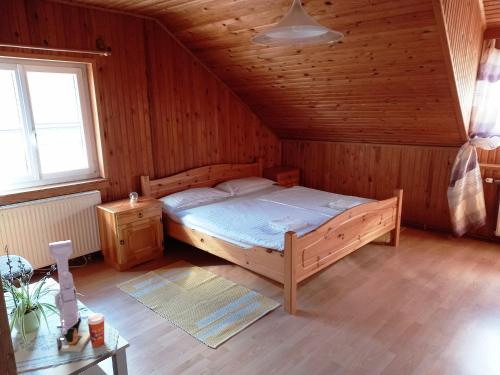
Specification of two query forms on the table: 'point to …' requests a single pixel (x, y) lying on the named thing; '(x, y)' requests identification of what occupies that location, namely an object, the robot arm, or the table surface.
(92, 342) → the paper cup
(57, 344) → the hook post
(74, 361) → the table surface
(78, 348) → the beige u-shaped block
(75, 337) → the orange rounded cylinder
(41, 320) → the table surface
